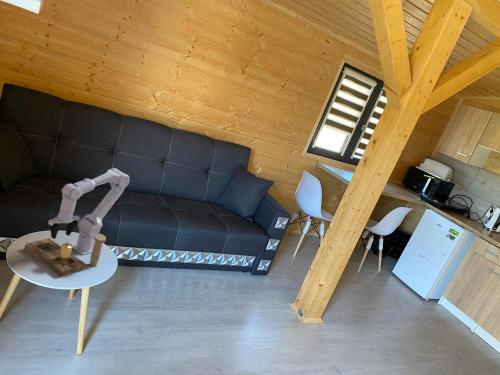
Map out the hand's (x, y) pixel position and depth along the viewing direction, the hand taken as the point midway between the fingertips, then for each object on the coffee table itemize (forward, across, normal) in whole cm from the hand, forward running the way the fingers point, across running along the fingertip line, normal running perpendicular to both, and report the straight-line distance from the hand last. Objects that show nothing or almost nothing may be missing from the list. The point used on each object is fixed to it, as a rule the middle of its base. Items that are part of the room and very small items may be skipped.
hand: (60, 236), depth 175 cm
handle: (+10, -10, +14) cm, 20 cm away
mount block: (+10, +2, +2) cm, 11 cm away
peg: (+10, +2, +8) cm, 13 cm away
